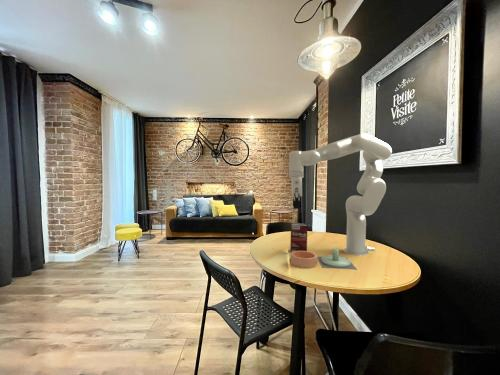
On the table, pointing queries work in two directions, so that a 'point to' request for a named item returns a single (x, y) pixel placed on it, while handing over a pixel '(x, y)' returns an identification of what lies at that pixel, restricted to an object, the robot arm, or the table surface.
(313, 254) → the bowl
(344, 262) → the lid
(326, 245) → the table surface
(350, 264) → the mat
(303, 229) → the supplement box
